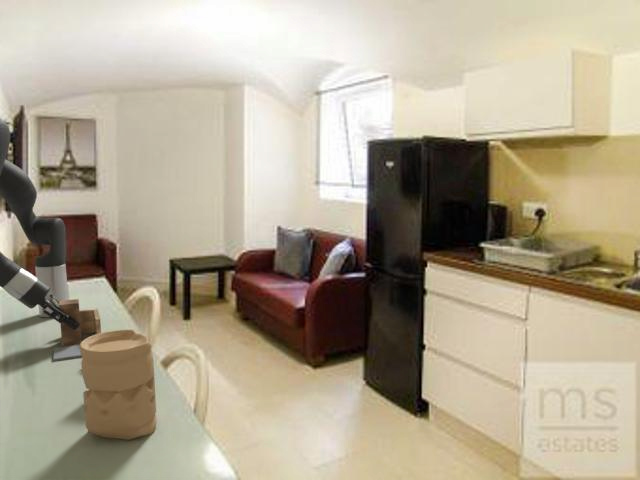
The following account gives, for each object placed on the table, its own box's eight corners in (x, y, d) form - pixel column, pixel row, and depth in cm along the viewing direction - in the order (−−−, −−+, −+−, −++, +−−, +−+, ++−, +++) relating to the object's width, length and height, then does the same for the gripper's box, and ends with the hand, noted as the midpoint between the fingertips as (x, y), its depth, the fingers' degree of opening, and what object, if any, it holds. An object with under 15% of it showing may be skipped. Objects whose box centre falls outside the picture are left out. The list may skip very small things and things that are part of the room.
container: (141, 408, 107) (136, 325, 105) (167, 431, 98) (163, 340, 95) (77, 429, 99) (70, 338, 96) (99, 456, 90) (92, 357, 87)
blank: (62, 346, 145) (59, 305, 143) (62, 341, 149) (59, 301, 148) (81, 343, 147) (78, 303, 146) (81, 338, 152) (78, 299, 150)
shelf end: (68, 347, 144) (66, 323, 143) (67, 334, 156) (66, 311, 155) (101, 342, 148) (100, 319, 147) (99, 330, 159) (97, 308, 158)
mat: (54, 350, 142) (53, 348, 142) (89, 345, 146) (89, 343, 146) (53, 361, 134) (53, 359, 134) (91, 355, 138) (91, 353, 138)
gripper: (35, 282, 136) (88, 320, 143) (38, 273, 149) (86, 308, 156) (14, 304, 134) (68, 341, 141) (18, 293, 147) (67, 327, 154)
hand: (77, 324), depth 148 cm, fingers open, 5 cm apart
